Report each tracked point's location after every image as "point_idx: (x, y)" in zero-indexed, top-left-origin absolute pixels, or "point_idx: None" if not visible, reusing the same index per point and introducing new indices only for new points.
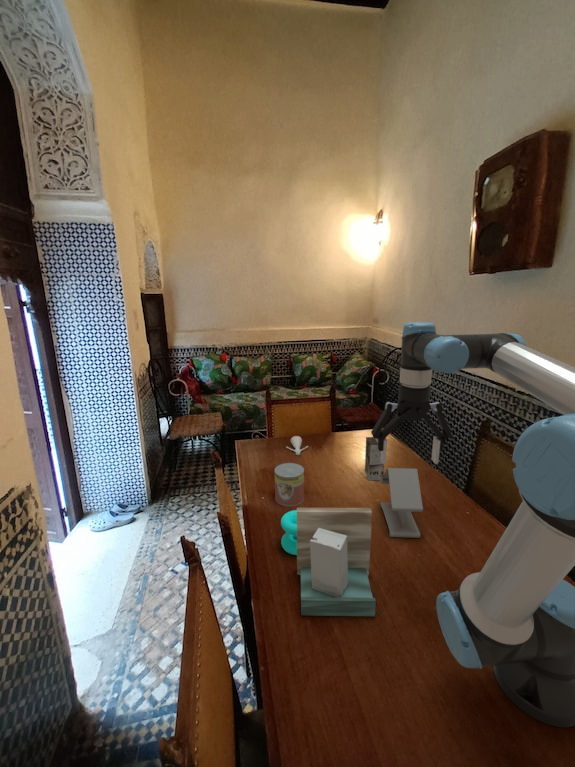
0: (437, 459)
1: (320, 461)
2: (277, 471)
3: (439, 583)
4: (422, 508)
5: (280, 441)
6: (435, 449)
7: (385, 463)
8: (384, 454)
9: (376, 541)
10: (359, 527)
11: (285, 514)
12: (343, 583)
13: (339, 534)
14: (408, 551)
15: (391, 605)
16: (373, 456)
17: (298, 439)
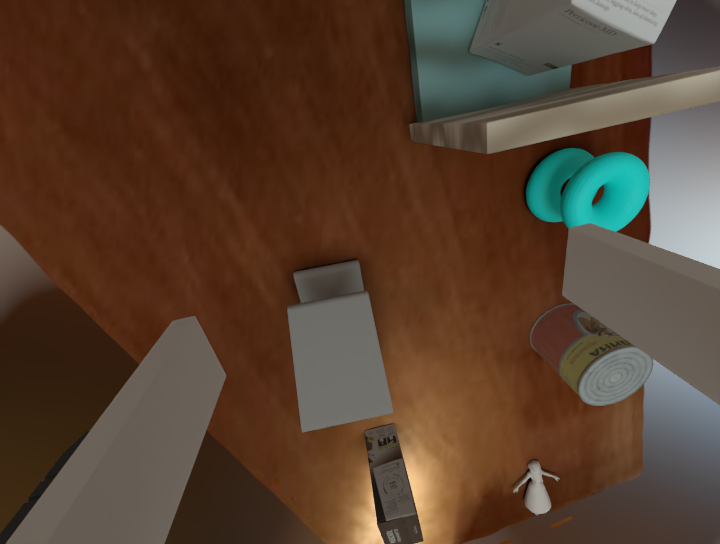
0: (163, 343)
1: (488, 454)
2: (645, 364)
3: (257, 135)
4: (288, 310)
5: (564, 492)
6: (150, 430)
7: (573, 228)
8: (660, 254)
9: (387, 239)
10: (496, 115)
11: (640, 207)
12: (496, 3)
13: (596, 4)
14: (320, 224)
15: (364, 36)
16: (399, 482)
17: (538, 504)
